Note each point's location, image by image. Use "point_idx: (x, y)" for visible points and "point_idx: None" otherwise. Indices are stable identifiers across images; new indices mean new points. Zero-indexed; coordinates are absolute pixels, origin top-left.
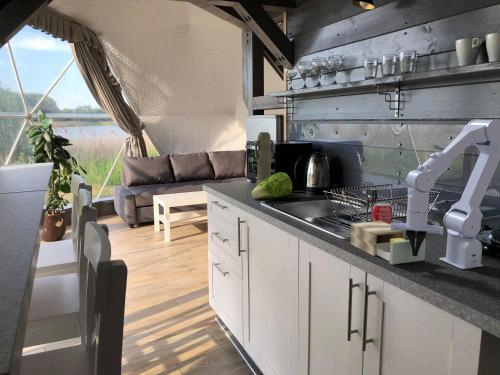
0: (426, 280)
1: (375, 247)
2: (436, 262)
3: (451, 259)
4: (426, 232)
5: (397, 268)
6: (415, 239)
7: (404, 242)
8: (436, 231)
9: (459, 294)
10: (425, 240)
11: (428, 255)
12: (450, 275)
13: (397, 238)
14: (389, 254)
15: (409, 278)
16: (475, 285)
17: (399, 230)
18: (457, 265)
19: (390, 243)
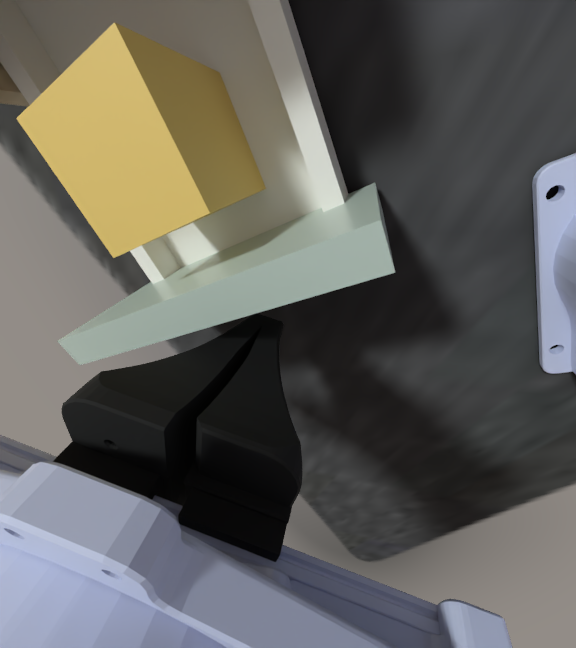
0: None
1: (3, 94)
2: (461, 236)
3: (569, 298)
4: (279, 558)
5: None
6: (258, 276)
7: (154, 342)
8: (395, 632)
9: (348, 505)
10: (389, 268)
11: (522, 4)
12: (410, 412)
13: (81, 73)
14: (132, 252)
15: None
16: (447, 485)
17: (2, 447)
18: (549, 340)
19: (67, 335)
